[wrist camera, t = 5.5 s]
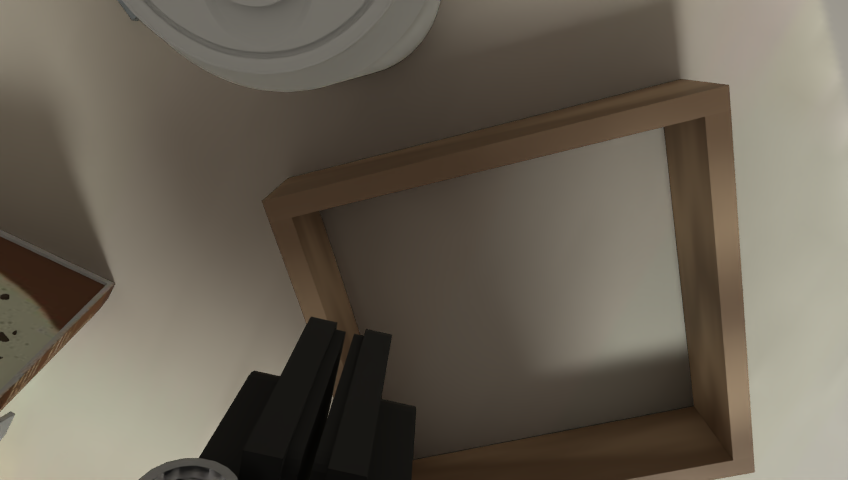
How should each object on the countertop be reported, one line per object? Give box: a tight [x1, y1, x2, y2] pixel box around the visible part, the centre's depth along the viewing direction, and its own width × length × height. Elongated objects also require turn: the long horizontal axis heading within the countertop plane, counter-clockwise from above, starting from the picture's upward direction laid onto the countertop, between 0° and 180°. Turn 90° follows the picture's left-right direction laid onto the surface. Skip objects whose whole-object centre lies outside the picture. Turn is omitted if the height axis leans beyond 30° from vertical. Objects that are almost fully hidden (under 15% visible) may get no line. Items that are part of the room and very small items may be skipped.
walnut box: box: [262, 79, 755, 480], centre depth 22 cm, size 16×16×4 cm
